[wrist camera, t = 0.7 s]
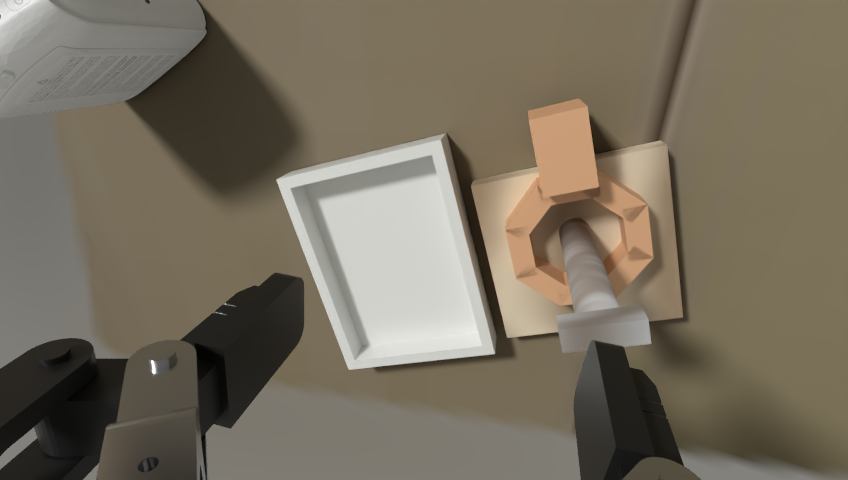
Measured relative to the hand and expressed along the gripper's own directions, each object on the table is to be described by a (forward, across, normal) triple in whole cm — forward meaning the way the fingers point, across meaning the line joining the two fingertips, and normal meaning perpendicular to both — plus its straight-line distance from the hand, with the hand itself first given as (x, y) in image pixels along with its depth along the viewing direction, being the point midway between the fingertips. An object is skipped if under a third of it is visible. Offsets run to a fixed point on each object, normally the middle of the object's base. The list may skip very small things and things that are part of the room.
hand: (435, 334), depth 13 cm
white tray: (+21, +6, +8) cm, 23 cm away
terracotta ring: (+19, -5, +2) cm, 20 cm away
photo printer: (+20, +25, -5) cm, 33 cm away
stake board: (+21, -7, +5) cm, 22 cm away
